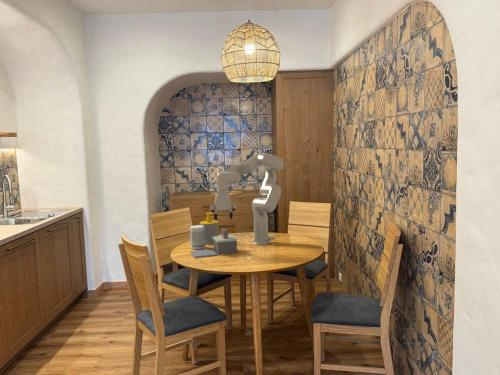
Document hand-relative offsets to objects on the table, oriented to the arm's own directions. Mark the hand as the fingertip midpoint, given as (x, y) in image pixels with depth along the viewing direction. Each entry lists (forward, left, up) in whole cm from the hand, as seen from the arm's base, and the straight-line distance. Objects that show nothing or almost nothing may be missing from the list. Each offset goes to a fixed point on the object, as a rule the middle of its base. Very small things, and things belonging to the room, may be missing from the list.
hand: (223, 219), depth 267 cm
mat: (+14, 0, -21) cm, 25 cm away
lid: (0, 0, -13) cm, 13 cm away
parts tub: (0, 0, -21) cm, 21 cm away
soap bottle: (+3, -30, -21) cm, 37 cm away
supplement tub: (+14, -18, -21) cm, 31 cm away
